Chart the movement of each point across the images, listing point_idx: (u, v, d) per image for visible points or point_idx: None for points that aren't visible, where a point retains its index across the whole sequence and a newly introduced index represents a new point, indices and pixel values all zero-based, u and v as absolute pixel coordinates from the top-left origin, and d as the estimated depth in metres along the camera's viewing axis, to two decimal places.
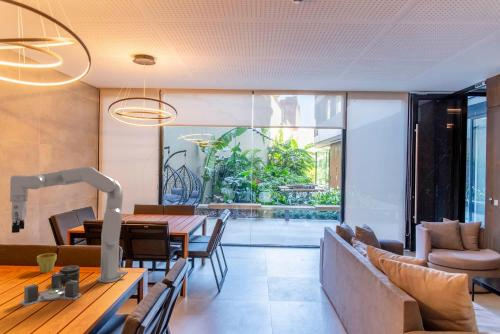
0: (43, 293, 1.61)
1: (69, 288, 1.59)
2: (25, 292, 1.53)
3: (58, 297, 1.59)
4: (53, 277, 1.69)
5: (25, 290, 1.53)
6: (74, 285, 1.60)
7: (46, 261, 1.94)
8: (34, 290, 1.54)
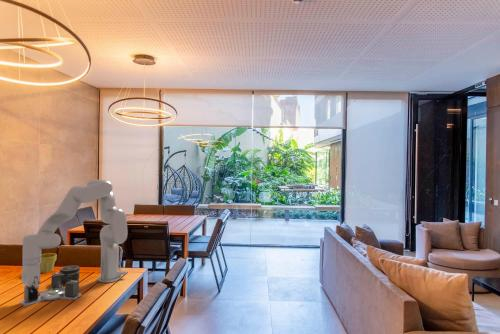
0: (43, 293, 1.61)
1: (69, 288, 1.59)
2: (25, 292, 1.53)
3: (58, 297, 1.59)
4: (53, 277, 1.69)
5: (25, 290, 1.53)
6: (74, 285, 1.60)
7: (46, 261, 1.94)
8: None
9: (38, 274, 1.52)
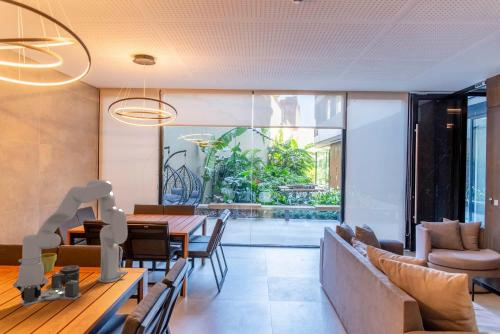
0: (43, 293, 1.61)
1: (69, 288, 1.59)
2: (27, 293, 1.52)
3: (58, 297, 1.59)
4: (53, 277, 1.69)
5: (27, 291, 1.52)
6: (74, 285, 1.60)
7: (46, 261, 1.94)
8: (37, 288, 1.56)
9: (43, 271, 1.57)
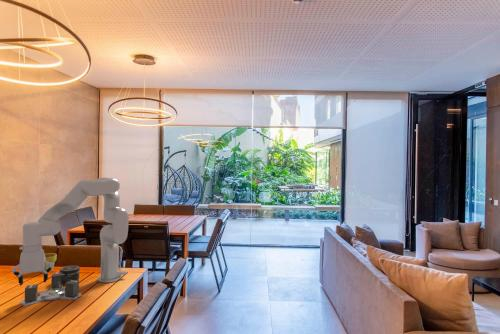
0: (43, 293, 1.61)
1: (69, 288, 1.59)
2: (28, 293, 1.52)
3: (58, 297, 1.59)
4: (53, 277, 1.69)
5: (28, 291, 1.52)
6: (74, 285, 1.60)
7: None
8: (37, 288, 1.56)
9: None
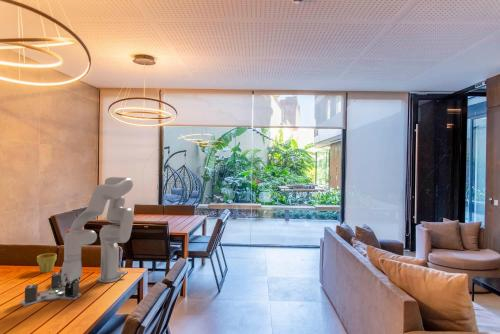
0: (43, 293, 1.61)
1: None
2: (28, 293, 1.52)
3: (58, 297, 1.59)
4: (53, 277, 1.69)
5: (28, 291, 1.52)
6: (74, 285, 1.60)
7: (46, 261, 1.94)
8: (37, 288, 1.56)
9: (67, 272, 1.56)
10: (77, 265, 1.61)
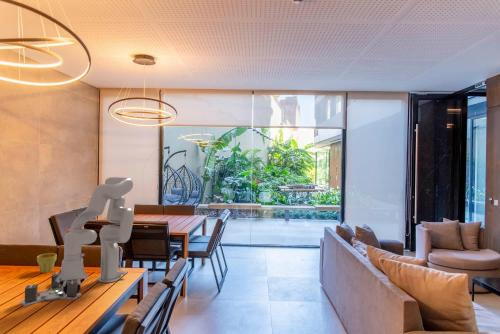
0: (43, 293, 1.61)
1: (67, 287, 1.60)
2: (28, 293, 1.52)
3: (58, 297, 1.59)
4: (53, 277, 1.69)
5: (28, 291, 1.52)
6: (69, 286, 1.59)
7: (46, 261, 1.94)
8: (37, 288, 1.56)
9: (61, 270, 1.58)
10: (72, 266, 1.59)
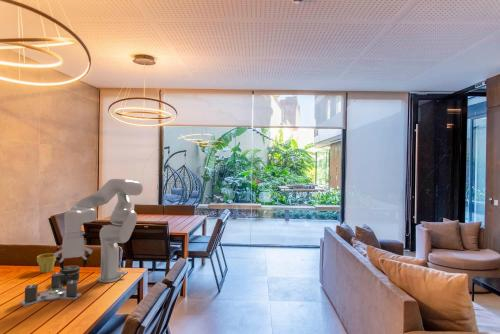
0: (43, 293, 1.61)
1: None
2: (28, 293, 1.52)
3: (58, 297, 1.59)
4: (53, 277, 1.69)
5: (28, 291, 1.52)
6: (68, 286, 1.59)
7: (46, 261, 1.94)
8: (37, 288, 1.56)
9: (62, 247, 1.58)
10: (73, 244, 1.59)
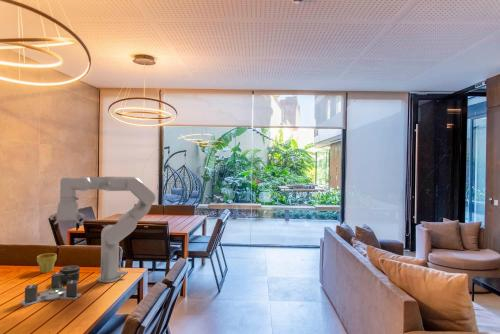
0: (43, 293, 1.61)
1: None
2: (28, 293, 1.52)
3: (58, 297, 1.59)
4: (53, 277, 1.69)
5: (28, 291, 1.52)
6: (68, 286, 1.59)
7: (46, 261, 1.94)
8: (37, 288, 1.56)
9: (57, 211, 1.74)
10: (67, 207, 1.74)
